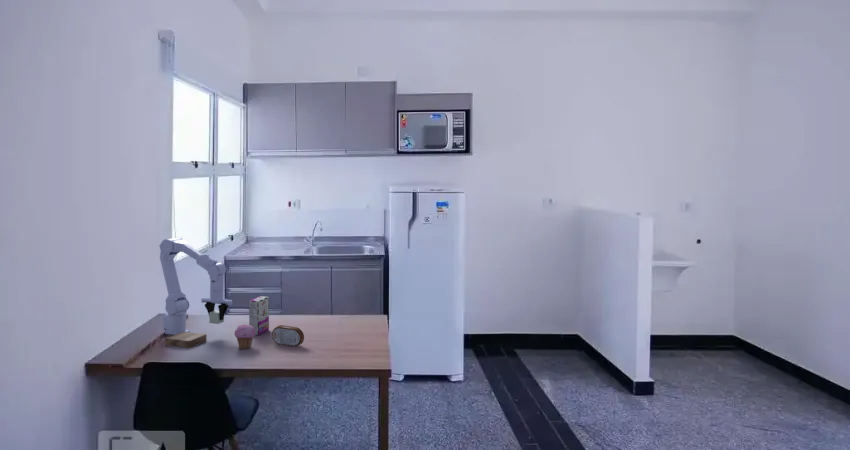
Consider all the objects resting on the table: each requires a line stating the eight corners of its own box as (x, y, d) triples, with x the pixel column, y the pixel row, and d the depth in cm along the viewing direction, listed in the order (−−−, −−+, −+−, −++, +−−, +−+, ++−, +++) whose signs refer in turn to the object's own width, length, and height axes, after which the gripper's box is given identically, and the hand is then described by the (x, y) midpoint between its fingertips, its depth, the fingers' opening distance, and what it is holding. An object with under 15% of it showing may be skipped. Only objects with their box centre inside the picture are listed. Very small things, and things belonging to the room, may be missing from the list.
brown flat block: (165, 345, 264) (165, 338, 263) (182, 338, 275) (182, 331, 275) (189, 348, 261) (189, 341, 260) (206, 340, 272) (206, 334, 272)
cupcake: (233, 345, 267) (234, 322, 266) (254, 344, 270) (254, 321, 269) (235, 351, 259) (235, 327, 258) (256, 349, 262) (256, 326, 261)
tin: (304, 346, 269) (304, 327, 269) (300, 348, 266) (300, 329, 266) (274, 342, 274) (275, 323, 273) (270, 344, 271) (271, 325, 270)
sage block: (209, 323, 276) (209, 312, 276) (215, 320, 281) (215, 310, 280) (218, 324, 275) (218, 313, 275) (223, 321, 280) (223, 311, 279)
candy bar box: (259, 329, 295) (259, 295, 294) (269, 330, 294) (269, 296, 293) (248, 335, 284) (248, 300, 283) (258, 336, 283) (258, 301, 282)
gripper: (236, 289, 279) (235, 318, 280) (207, 286, 282) (207, 315, 284) (227, 292, 272) (227, 322, 273) (198, 289, 276) (198, 319, 277)
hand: (216, 319), depth 278 cm, fingers closed on sage block, 4 cm apart
